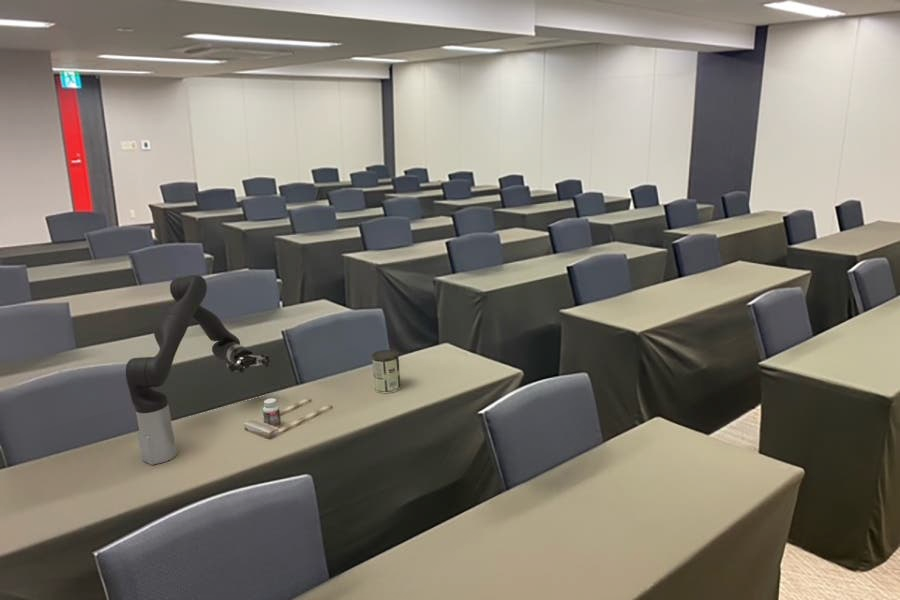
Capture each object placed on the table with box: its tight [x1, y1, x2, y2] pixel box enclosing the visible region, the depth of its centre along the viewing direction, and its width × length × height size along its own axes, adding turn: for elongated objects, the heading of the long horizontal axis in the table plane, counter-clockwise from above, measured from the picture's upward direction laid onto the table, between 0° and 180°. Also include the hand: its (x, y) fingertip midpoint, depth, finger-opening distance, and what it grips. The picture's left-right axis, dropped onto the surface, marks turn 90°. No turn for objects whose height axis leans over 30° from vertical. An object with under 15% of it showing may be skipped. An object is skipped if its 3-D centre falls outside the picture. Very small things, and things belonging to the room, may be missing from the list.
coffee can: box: [371, 349, 402, 394], centre depth 242 cm, size 10×10×14 cm
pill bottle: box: [262, 398, 282, 429], centre depth 215 cm, size 5×5×10 cm
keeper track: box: [243, 397, 333, 441], centre depth 222 cm, size 28×13×2 cm, turn 143°
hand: (255, 367), depth 221 cm, fingers open, 8 cm apart
